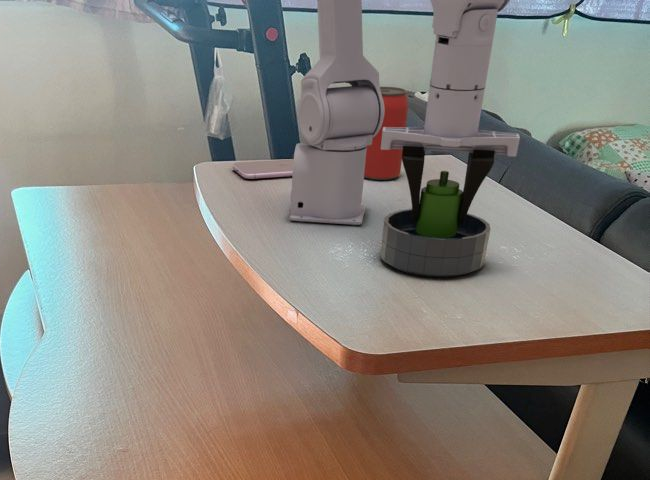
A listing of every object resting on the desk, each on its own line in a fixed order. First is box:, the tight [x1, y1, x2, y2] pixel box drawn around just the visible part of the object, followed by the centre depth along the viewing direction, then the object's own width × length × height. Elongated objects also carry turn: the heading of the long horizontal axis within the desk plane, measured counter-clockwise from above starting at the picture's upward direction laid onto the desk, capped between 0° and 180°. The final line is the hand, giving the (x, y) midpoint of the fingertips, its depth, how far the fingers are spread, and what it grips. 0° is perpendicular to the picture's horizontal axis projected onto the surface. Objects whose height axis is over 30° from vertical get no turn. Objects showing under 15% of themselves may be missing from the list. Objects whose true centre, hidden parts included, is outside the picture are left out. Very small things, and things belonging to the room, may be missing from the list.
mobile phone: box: [232, 158, 294, 180], centre depth 130 cm, size 8×1×15 cm
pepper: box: [416, 170, 463, 238], centre depth 94 cm, size 5×5×7 cm
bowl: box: [379, 208, 491, 278], centre depth 97 cm, size 12×12×4 cm
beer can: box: [364, 86, 409, 181], centre depth 126 cm, size 7×7×12 cm
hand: (437, 219), depth 95 cm, fingers closed on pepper, 4 cm apart
